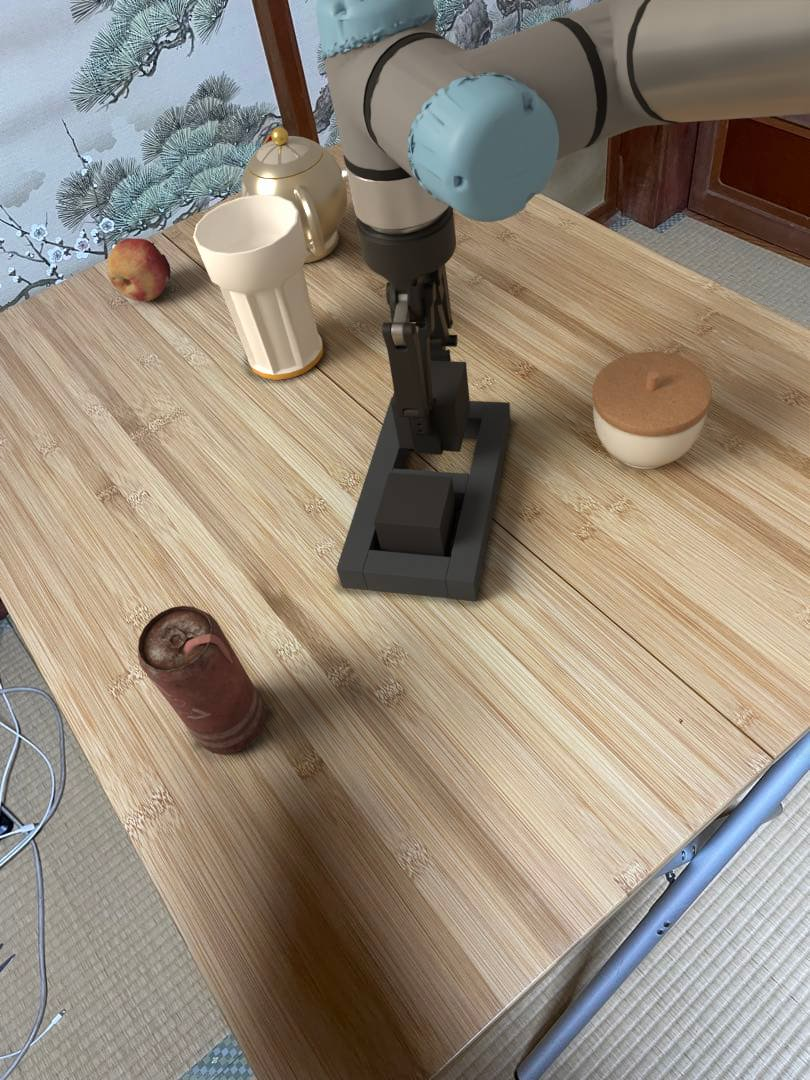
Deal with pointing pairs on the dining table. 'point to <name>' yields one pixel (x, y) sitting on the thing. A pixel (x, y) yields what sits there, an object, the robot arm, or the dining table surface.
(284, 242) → the cup
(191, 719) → the can
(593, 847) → the dining table surface
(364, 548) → the base frame
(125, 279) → the fruit
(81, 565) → the dining table surface
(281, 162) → the teapot
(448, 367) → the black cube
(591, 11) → the robot arm
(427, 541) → the dark grey cube
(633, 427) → the trinket box
